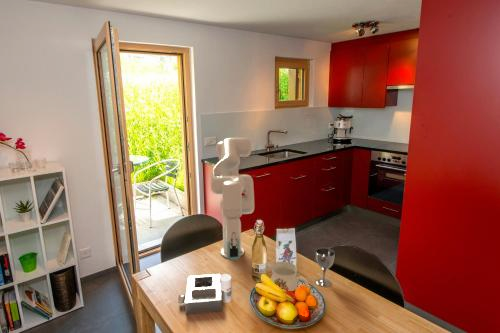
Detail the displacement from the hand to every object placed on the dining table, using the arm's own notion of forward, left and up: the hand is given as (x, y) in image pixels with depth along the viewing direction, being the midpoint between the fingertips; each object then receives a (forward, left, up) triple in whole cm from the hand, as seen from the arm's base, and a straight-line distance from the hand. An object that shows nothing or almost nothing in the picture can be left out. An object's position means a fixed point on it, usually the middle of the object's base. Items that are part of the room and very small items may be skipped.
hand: (233, 252), depth 128 cm
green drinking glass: (0, 0, -2) cm, 2 cm away
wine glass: (-3, +40, -20) cm, 45 cm away
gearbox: (+1, -14, -19) cm, 24 cm away
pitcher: (+5, +21, -20) cm, 29 cm away
